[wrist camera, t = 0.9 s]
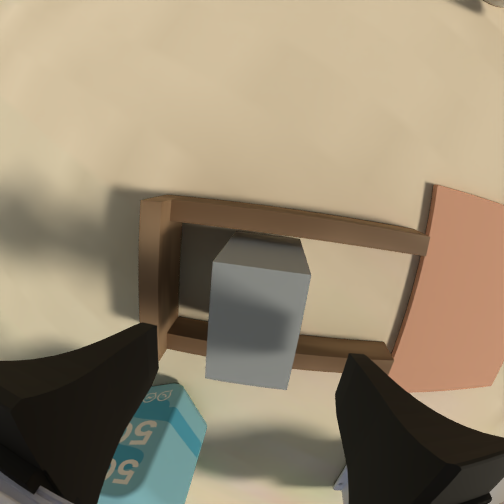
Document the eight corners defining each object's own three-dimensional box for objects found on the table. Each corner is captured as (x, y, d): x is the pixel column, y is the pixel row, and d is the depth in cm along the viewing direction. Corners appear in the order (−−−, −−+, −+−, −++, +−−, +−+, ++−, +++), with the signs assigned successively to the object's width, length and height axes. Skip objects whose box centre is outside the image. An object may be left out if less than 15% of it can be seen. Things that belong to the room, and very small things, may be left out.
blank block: (285, 324, 20) (286, 389, 14) (227, 316, 21) (205, 378, 14) (299, 239, 19) (310, 274, 12) (236, 230, 19) (212, 261, 12)
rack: (379, 355, 20) (394, 387, 17) (162, 327, 21) (141, 356, 17) (413, 228, 18) (442, 242, 14) (167, 194, 19) (140, 200, 15)
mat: (488, 382, 20) (491, 385, 20) (378, 388, 21) (379, 392, 21) (542, 220, 16) (546, 221, 16) (433, 184, 17) (437, 185, 17)
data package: (187, 379, 22) (135, 500, 11) (211, 417, 23) (177, 534, 12) (86, 393, 24) (24, 473, 13) (110, 425, 25) (60, 507, 14)
